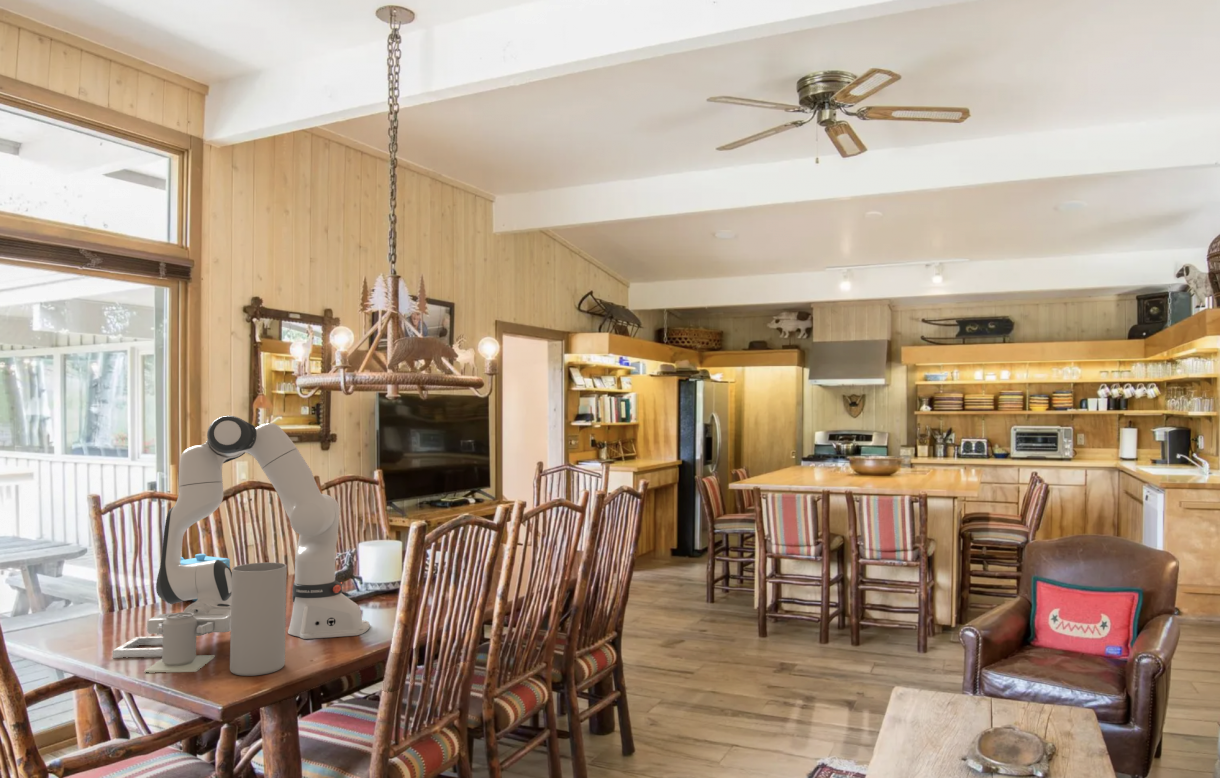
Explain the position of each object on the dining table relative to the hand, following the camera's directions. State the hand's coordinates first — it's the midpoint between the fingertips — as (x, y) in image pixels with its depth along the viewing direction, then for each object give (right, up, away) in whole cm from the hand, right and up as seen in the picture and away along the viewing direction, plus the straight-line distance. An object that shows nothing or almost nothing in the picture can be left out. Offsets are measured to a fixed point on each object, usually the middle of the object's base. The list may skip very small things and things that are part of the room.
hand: (179, 631), depth 208 cm
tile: (0, -9, +1) cm, 9 cm away
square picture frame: (-14, -9, +13) cm, 22 cm away
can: (0, -8, +1) cm, 8 cm away
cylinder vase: (+20, -9, -2) cm, 22 cm away
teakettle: (-34, -11, +76) cm, 84 cm away
